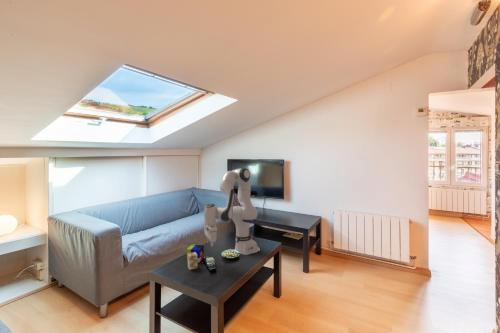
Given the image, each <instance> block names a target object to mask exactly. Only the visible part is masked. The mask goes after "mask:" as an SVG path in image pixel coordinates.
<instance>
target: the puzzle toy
mask: <svg viewBox="0 0 500 333" xmlns="http://www.w3.org/2000/svg"><path fill="white" fill-rule="evenodd" d="M204 248H205V246H204V245H203V244H194V243H193V244H191V245H189V247H187V248H186V262H188V253H193V252H196V254H197V264H198V263H200V262H201V261H202V260H203V259H204V258H203V257H205V253H204V252H205V251H204V250H205V249H204Z"/></svg>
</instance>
